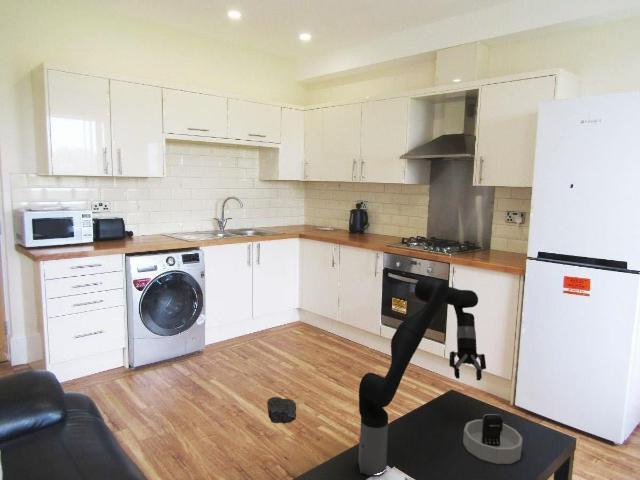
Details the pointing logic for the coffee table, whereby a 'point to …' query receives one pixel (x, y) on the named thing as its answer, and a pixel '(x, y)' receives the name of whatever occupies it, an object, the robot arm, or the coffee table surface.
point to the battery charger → (491, 429)
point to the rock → (281, 410)
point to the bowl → (496, 454)
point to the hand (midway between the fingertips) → (468, 379)
